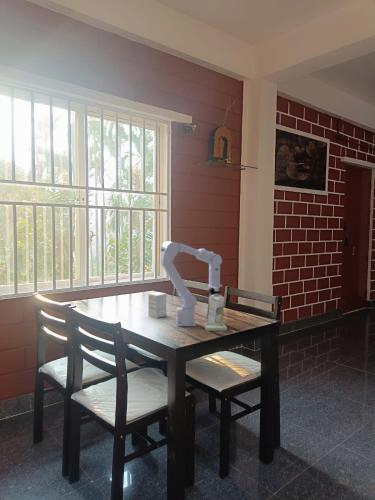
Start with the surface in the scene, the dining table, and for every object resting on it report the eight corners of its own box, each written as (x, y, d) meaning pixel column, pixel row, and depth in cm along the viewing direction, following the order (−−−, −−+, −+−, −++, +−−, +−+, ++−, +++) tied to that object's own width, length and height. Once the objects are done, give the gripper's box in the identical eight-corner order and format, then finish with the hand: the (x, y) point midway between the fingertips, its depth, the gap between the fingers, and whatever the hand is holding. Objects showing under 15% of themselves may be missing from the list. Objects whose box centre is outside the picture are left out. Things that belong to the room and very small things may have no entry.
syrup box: (213, 317, 194) (216, 292, 190) (222, 322, 190) (224, 296, 186) (206, 321, 190) (208, 295, 186) (214, 325, 186) (217, 299, 182)
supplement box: (158, 313, 209) (158, 291, 208) (166, 316, 203) (166, 293, 203) (147, 315, 204) (148, 293, 203) (156, 318, 198) (156, 295, 197)
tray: (206, 330, 177) (206, 327, 177) (203, 325, 186) (203, 322, 186) (226, 330, 178) (226, 327, 178) (223, 325, 187) (223, 322, 187)
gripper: (224, 278, 184) (224, 305, 185) (219, 274, 199) (219, 299, 200) (211, 279, 183) (210, 305, 184) (206, 274, 198) (206, 299, 199)
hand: (214, 302), depth 192 cm, fingers closed
